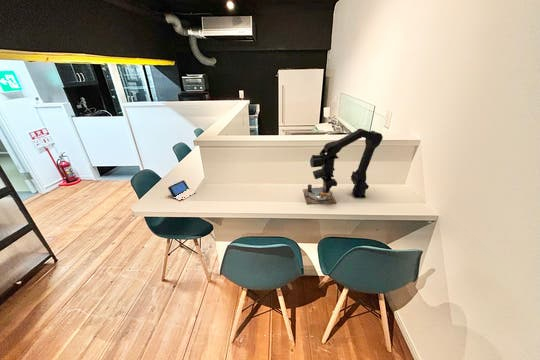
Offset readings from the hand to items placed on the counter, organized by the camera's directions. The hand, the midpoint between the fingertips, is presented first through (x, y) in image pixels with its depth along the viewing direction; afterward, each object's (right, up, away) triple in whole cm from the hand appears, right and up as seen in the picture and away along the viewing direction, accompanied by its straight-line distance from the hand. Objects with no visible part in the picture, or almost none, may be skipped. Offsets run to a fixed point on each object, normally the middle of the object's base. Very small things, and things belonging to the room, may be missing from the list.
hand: (326, 190), depth 127 cm
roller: (0, -1, 0) cm, 1 cm away
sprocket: (-3, -3, +4) cm, 6 cm away
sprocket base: (-3, -4, +4) cm, 7 cm away
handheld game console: (-89, -4, +10) cm, 90 cm away
